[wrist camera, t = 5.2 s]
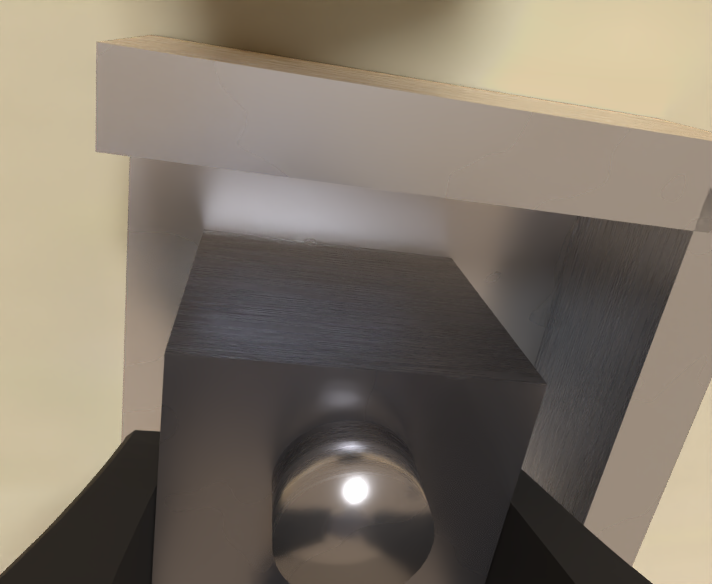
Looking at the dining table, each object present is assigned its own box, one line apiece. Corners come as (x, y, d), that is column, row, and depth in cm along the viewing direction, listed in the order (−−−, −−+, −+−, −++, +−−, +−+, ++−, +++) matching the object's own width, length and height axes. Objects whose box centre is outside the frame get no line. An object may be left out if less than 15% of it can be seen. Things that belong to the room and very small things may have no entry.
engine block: (183, 503, 13) (130, 798, 8) (203, 229, 11) (147, 404, 6) (392, 512, 14) (460, 786, 9) (451, 258, 12) (584, 434, 7)
